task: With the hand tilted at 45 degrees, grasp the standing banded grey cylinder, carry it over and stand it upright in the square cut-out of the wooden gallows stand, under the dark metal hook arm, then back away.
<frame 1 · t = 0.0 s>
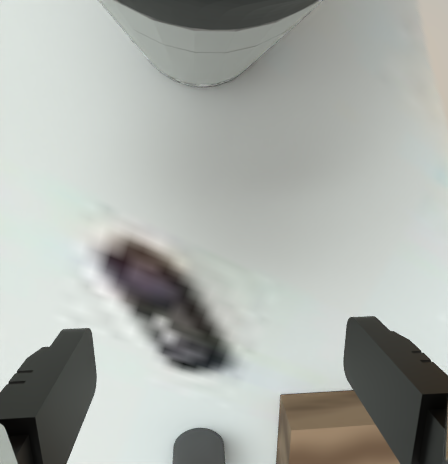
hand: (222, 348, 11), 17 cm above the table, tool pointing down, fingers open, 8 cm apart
banded grey cylinder: (198, 447, 35), on the table
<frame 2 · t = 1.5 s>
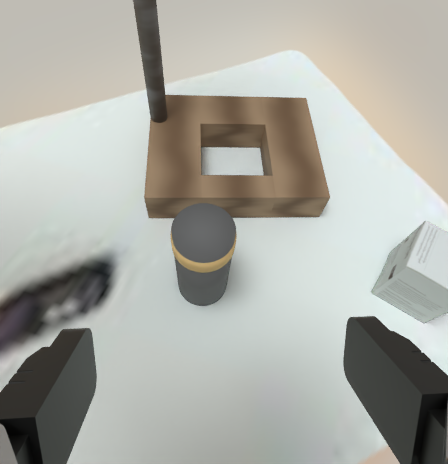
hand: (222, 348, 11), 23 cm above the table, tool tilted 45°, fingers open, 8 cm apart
skincare box: (404, 287, 38), on the table
wooden gallows stand: (231, 164, 45), on the table
banded grey cylinder: (202, 282, 37), on the table
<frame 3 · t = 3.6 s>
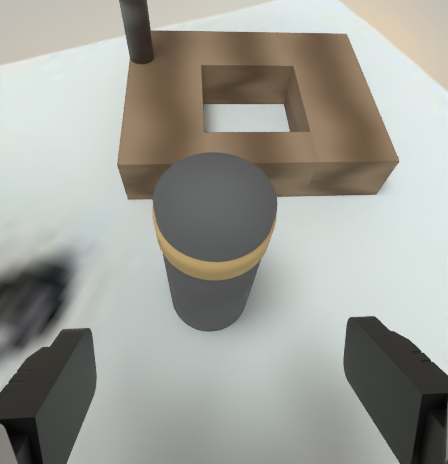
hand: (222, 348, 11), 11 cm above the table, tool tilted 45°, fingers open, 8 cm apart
wooden gallows stand: (245, 125, 32), on the table
banded grey cylinder: (209, 294, 24), on the table
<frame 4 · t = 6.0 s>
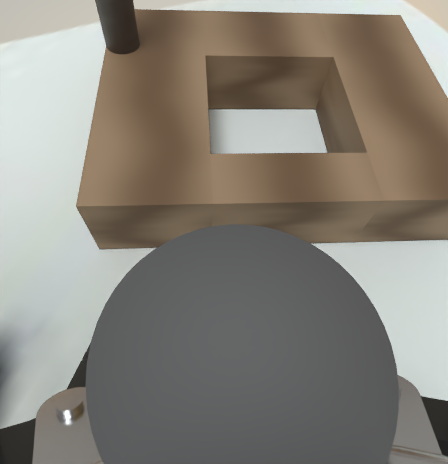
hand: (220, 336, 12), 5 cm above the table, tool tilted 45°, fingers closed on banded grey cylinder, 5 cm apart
wooden gallows stand: (266, 139, 23), on the table
banded grey cylinder: (217, 408, 15), on the table, touching gripper
when the fingers open (7 cm above the table, at t = 11.9 s): banded grey cylinder drops 1 cm, resting in wooden gallows stand.
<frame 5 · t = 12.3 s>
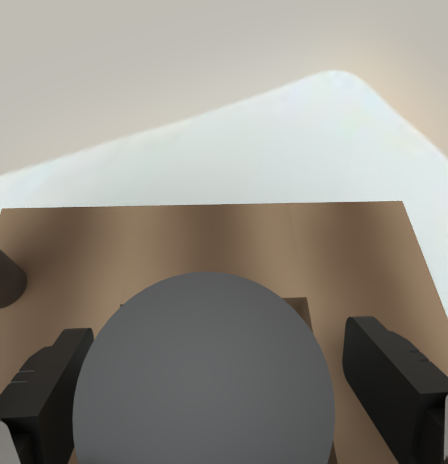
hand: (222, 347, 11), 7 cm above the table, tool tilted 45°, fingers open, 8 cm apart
wooden gallows stand: (215, 388, 17), on the table
banded grey cylinder: (204, 417, 16), resting in wooden gallows stand
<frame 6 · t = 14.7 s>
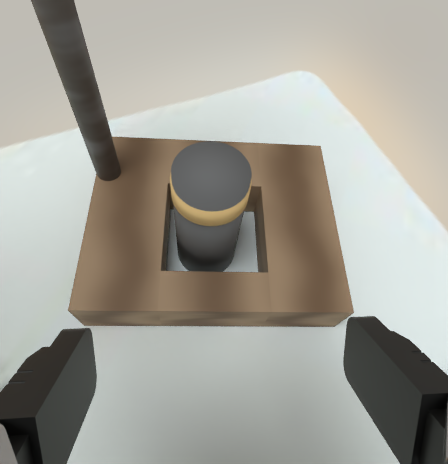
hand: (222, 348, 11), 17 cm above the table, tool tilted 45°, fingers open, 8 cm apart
wooden gallows stand: (212, 237, 32), on the table
banded grey cylinder: (206, 249, 31), resting in wooden gallows stand
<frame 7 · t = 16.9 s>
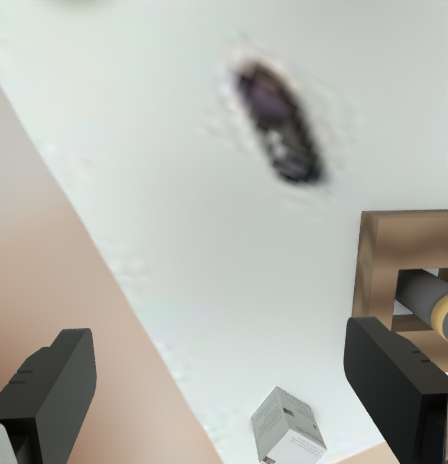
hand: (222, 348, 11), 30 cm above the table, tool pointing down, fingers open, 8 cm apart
skincare box: (279, 410, 49), on the table
wooden gallows stand: (414, 286, 45), on the table
banded grey cylinder: (406, 282, 45), resting in wooden gallows stand
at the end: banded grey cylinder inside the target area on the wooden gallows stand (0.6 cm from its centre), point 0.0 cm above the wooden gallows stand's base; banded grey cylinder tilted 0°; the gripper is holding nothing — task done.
